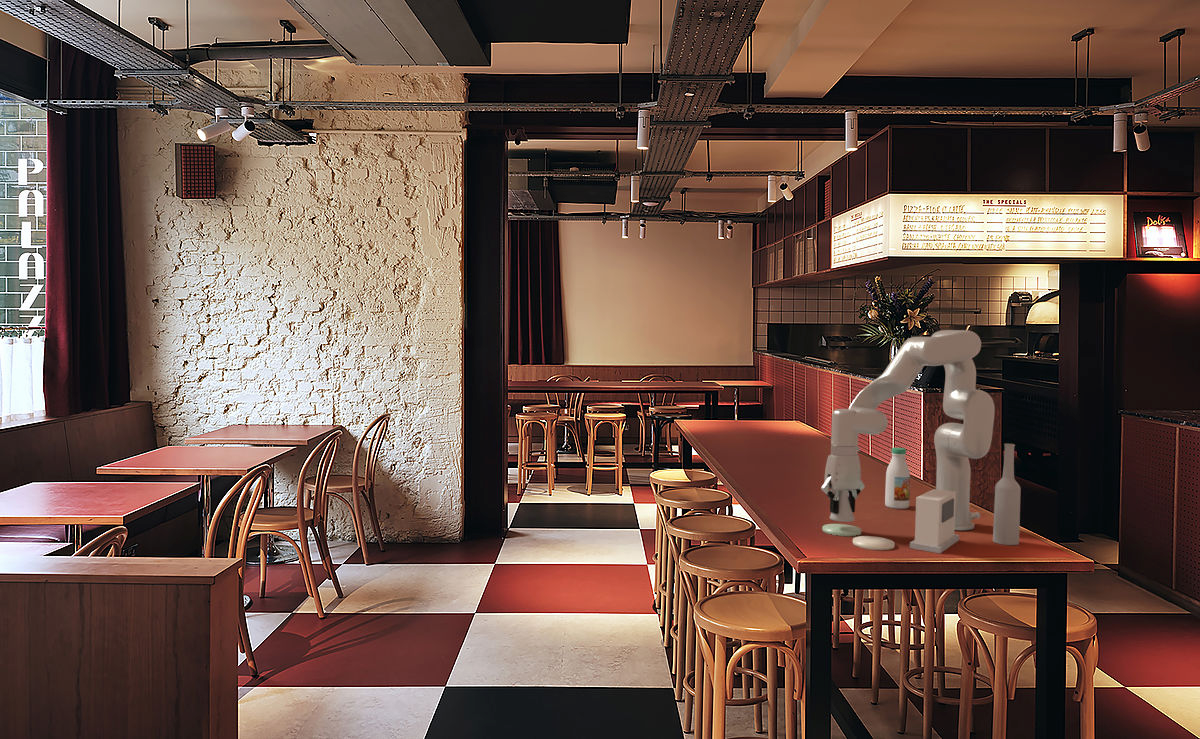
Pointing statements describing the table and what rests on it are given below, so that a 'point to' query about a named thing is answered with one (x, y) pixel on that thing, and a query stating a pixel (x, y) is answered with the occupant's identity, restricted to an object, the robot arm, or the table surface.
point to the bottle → (1007, 503)
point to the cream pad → (873, 543)
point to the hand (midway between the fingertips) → (842, 511)
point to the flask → (843, 508)
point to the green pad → (841, 529)
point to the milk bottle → (897, 481)
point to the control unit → (935, 521)
